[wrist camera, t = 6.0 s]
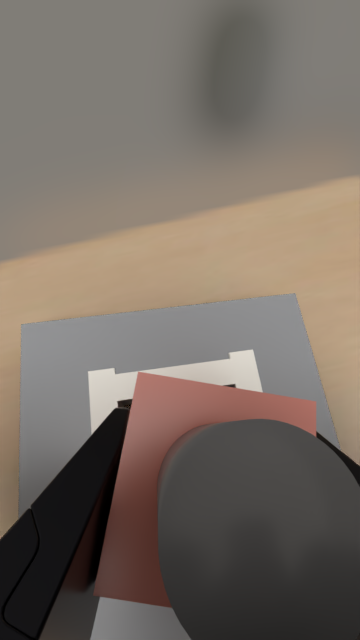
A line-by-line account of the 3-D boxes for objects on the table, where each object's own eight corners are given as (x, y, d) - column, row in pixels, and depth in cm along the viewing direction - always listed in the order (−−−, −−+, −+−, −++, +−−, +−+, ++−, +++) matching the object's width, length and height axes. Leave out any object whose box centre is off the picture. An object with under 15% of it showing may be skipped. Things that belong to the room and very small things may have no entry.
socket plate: (345, 582, 15) (393, 621, 12) (45, 652, 13) (13, 717, 10) (275, 312, 19) (296, 291, 16) (42, 340, 18) (19, 322, 15)
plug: (219, 509, 14) (483, 841, 3) (131, 495, 14) (23, 774, 3) (227, 417, 15) (428, 382, 4) (148, 404, 15) (124, 330, 4)
